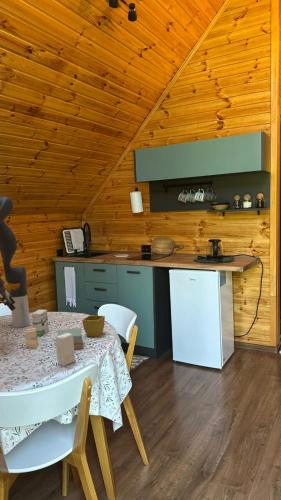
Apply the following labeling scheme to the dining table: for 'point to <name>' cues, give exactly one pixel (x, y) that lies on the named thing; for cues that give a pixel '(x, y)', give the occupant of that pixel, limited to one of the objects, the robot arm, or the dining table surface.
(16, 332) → the dining table surface
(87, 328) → the flower pot
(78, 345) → the tower base slab
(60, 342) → the skincare box
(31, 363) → the dining table surface
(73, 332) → the tower top slab
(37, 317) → the ink box
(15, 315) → the robot arm
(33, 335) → the maple block
